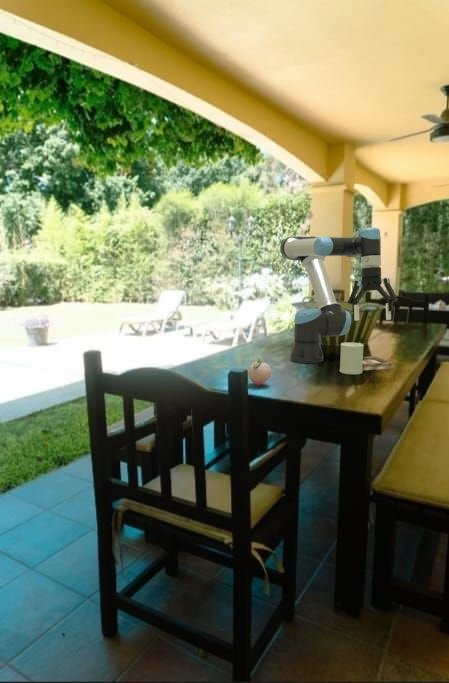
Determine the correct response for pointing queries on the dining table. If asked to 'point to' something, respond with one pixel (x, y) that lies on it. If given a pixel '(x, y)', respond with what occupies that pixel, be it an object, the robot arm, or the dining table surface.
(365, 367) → the coaster board
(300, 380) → the dining table surface
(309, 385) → the dining table surface
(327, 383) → the dining table surface
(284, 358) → the dining table surface
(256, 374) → the decorative fruit
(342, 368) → the can
